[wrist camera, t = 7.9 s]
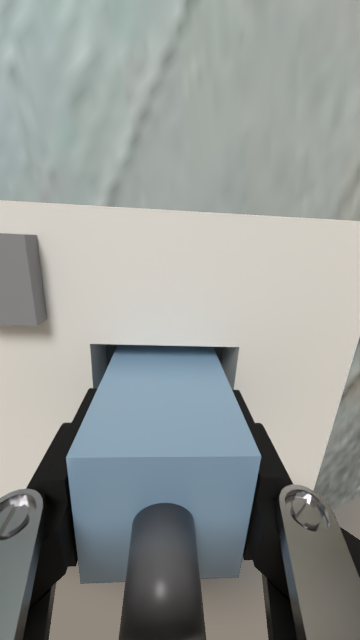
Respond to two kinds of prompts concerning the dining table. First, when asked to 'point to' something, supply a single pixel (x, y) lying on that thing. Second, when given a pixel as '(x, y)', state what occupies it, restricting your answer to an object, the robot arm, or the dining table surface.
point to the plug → (162, 486)
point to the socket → (174, 315)
